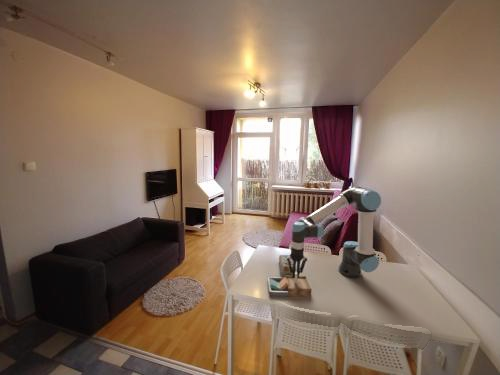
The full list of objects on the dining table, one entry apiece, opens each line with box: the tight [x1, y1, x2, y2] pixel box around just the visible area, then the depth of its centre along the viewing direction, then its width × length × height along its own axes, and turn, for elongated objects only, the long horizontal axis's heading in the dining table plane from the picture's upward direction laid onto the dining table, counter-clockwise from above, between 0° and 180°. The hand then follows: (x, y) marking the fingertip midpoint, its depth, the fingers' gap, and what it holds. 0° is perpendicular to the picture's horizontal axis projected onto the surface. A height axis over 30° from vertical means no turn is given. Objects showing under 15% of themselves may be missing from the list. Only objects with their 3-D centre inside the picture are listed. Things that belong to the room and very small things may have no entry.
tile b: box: [269, 279, 280, 291], centre depth 142 cm, size 6×6×2 cm
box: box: [267, 276, 289, 298], centre depth 142 cm, size 11×16×3 cm
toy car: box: [278, 254, 297, 277], centre depth 164 cm, size 11×25×10 cm, turn 177°
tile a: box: [279, 277, 289, 291], centre depth 142 cm, size 6×6×2 cm
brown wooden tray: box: [285, 275, 312, 297], centre depth 142 cm, size 14×14×5 cm
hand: (295, 282), depth 142 cm, fingers closed
